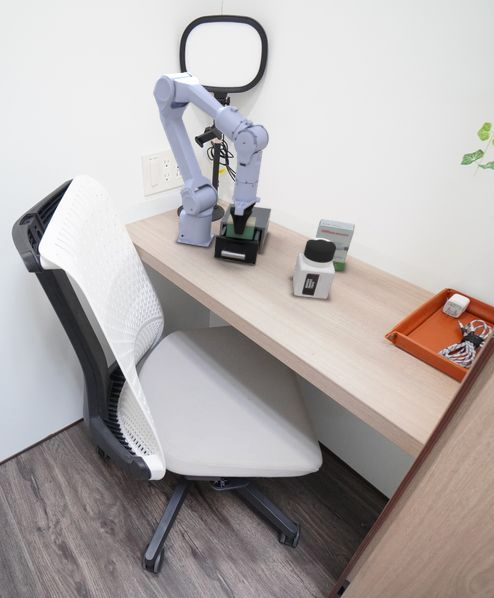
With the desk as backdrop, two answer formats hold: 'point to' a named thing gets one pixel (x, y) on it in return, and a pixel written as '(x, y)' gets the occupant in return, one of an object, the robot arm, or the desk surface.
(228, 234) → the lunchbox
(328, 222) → the ink box
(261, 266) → the desk surface
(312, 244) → the container
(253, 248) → the drawer
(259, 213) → the small drawer cabinet
